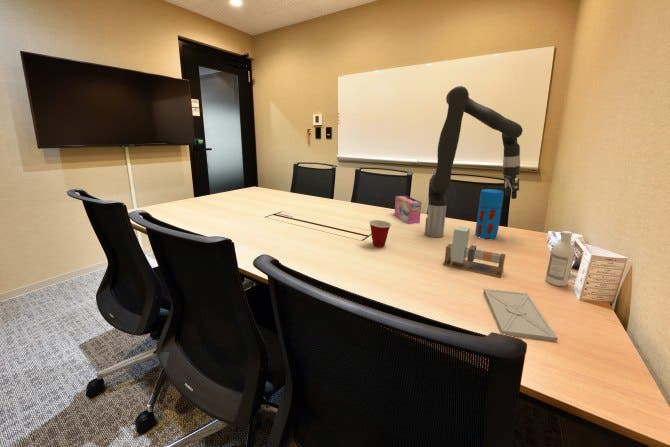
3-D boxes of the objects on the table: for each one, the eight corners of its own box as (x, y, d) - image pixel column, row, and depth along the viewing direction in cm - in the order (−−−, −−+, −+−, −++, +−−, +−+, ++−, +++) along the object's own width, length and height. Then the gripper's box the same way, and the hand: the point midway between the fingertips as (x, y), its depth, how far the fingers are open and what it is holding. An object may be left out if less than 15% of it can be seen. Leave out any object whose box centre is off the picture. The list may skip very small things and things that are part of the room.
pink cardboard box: (393, 214, 214) (394, 195, 210) (403, 214, 216) (405, 194, 212) (408, 224, 192) (409, 202, 188) (420, 223, 193) (421, 202, 189)
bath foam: (556, 277, 121) (567, 228, 116) (572, 285, 115) (584, 234, 109) (540, 279, 120) (551, 229, 114) (556, 287, 114) (567, 235, 108)
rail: (443, 265, 133) (444, 248, 130) (448, 258, 140) (450, 242, 138) (500, 277, 121) (503, 260, 119) (503, 269, 128) (506, 252, 126)
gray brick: (467, 261, 128) (468, 248, 127) (469, 256, 133) (471, 245, 131) (472, 262, 127) (474, 249, 126) (474, 257, 132) (476, 245, 130)
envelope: (501, 336, 87) (556, 343, 84) (502, 329, 87) (558, 337, 84) (483, 293, 110) (526, 298, 107) (484, 287, 109) (527, 292, 106)
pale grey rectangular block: (450, 260, 132) (454, 229, 128) (454, 255, 137) (457, 225, 133) (462, 263, 129) (466, 231, 125) (466, 258, 134) (470, 227, 130)
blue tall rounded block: (499, 240, 163) (506, 193, 156) (477, 239, 165) (484, 192, 158) (493, 234, 173) (500, 189, 166) (473, 232, 175) (478, 188, 168)
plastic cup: (389, 250, 149) (391, 226, 146) (367, 248, 151) (368, 224, 148) (390, 242, 159) (392, 220, 156) (369, 241, 161) (370, 219, 158)
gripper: (498, 164, 163) (498, 194, 167) (508, 167, 150) (507, 200, 154) (514, 162, 162) (513, 193, 166) (525, 165, 148) (524, 199, 152)
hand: (510, 196), depth 160 cm, fingers open, 8 cm apart
